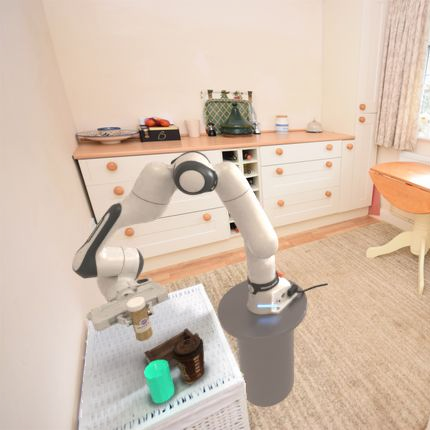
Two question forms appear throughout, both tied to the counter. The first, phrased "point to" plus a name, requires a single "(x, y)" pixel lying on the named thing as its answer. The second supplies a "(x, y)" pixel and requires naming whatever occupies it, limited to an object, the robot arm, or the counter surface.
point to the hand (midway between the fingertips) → (140, 318)
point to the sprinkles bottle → (139, 318)
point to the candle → (159, 381)
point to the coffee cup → (189, 357)
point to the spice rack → (165, 346)
